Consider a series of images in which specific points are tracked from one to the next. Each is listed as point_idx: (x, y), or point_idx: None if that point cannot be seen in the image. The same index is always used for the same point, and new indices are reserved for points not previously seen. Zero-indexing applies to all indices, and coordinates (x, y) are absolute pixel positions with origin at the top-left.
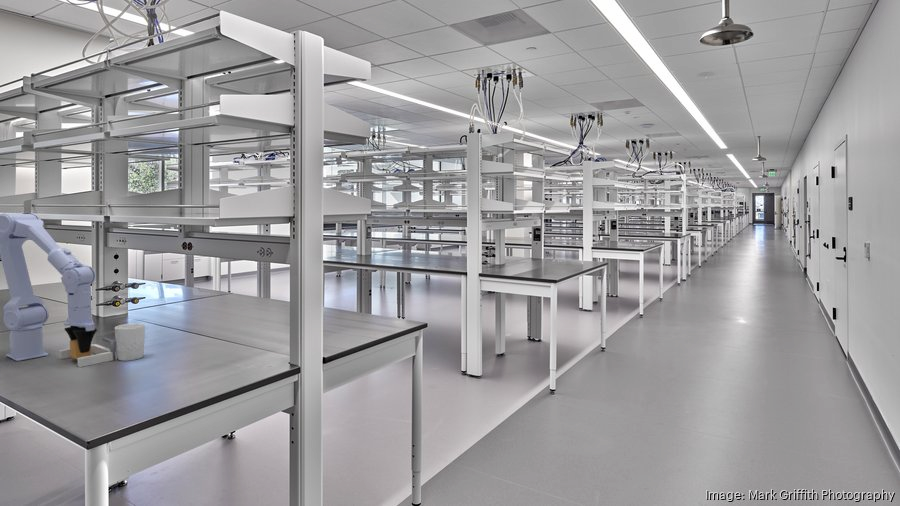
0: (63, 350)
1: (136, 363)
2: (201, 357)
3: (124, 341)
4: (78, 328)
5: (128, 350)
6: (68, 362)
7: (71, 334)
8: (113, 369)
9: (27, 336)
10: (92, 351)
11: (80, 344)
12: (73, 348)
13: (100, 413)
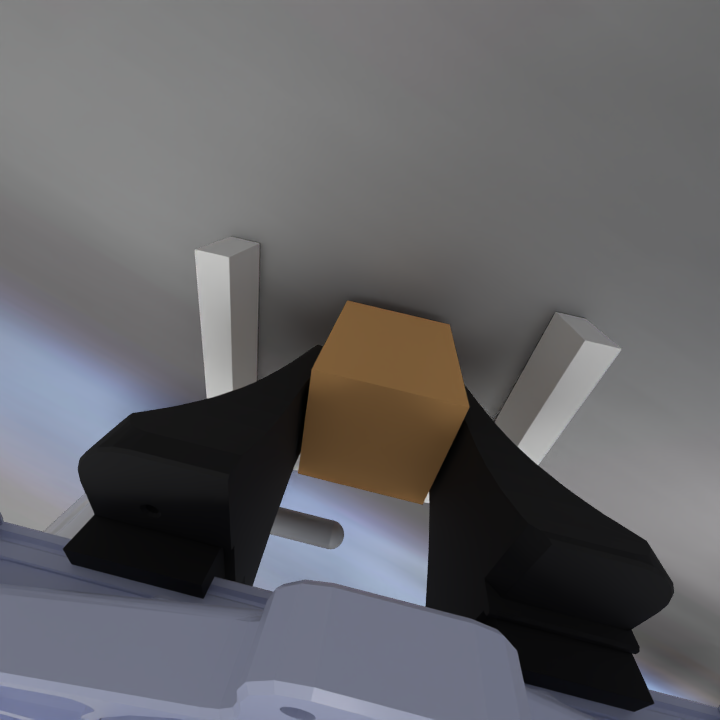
0: (580, 361)
1: (95, 402)
2: (35, 511)
3: (75, 503)
4: (457, 604)
5: None
6: (422, 281)
7: (480, 481)
8: (45, 296)
9: None
10: None
11: (272, 375)
12: (379, 346)
13: None
